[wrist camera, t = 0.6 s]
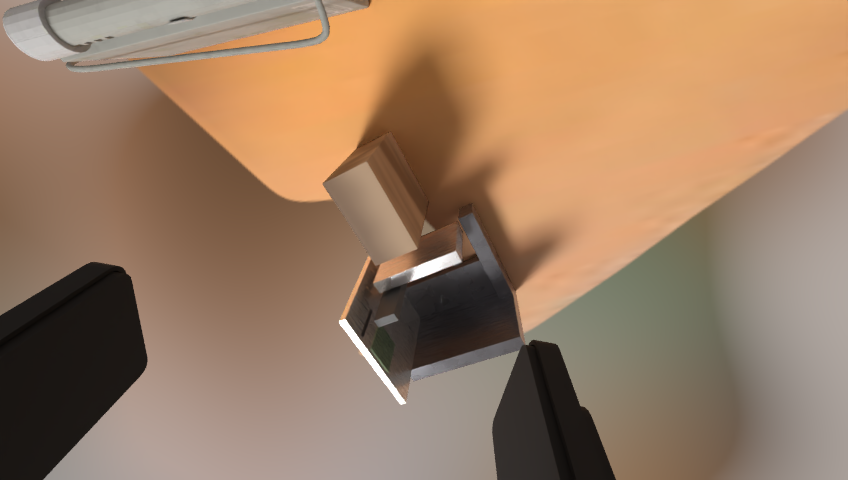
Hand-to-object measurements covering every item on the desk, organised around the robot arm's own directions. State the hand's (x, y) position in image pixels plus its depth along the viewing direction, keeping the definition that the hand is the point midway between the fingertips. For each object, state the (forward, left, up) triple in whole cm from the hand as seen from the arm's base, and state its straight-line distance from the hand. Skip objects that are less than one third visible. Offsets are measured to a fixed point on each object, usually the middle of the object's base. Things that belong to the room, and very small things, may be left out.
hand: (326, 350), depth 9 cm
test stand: (+6, +15, -30) cm, 34 cm away
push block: (+6, +3, -30) cm, 31 cm away
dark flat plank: (+9, +12, -29) cm, 32 cm away
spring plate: (+6, +11, -28) cm, 31 cm away
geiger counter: (+12, -15, -31) cm, 36 cm away
